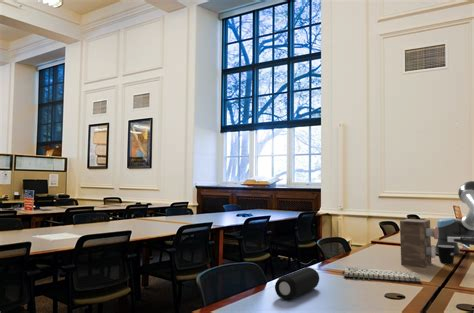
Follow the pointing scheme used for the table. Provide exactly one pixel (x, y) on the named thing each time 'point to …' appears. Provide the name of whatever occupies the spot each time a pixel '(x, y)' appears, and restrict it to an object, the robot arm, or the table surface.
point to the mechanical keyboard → (380, 275)
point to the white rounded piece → (431, 251)
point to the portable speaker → (296, 283)
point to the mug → (446, 254)
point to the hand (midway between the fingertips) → (447, 239)
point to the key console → (415, 243)
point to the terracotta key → (432, 232)
